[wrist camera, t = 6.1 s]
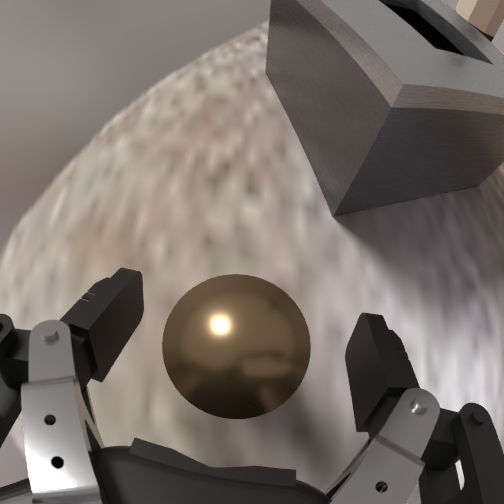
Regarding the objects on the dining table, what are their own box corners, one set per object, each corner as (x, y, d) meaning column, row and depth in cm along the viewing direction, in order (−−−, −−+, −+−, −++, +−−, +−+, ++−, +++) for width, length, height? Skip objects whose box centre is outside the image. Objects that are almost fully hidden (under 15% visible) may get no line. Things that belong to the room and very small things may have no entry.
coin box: (398, 70, 23) (431, -7, 14) (477, 186, 19) (550, 111, 9) (265, 72, 22) (273, -34, 12) (332, 216, 17) (403, 83, 8)
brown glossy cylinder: (262, 317, 15) (287, 259, 6) (277, 374, 14) (326, 395, 5) (204, 331, 15) (150, 292, 6) (219, 388, 14) (182, 431, 5)
